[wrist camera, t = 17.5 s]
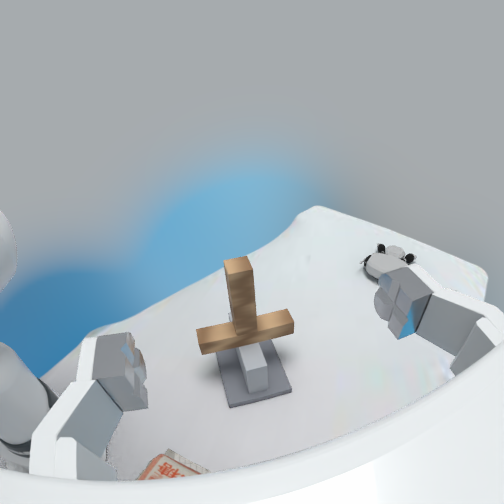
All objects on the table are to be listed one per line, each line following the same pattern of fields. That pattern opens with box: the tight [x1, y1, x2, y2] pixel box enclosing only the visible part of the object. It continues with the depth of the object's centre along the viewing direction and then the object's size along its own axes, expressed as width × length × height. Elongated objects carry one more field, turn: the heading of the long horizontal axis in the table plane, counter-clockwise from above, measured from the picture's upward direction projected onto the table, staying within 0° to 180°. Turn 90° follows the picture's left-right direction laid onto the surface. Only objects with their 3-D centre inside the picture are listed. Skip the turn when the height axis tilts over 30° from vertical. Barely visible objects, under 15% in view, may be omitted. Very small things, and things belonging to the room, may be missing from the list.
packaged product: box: [136, 449, 212, 480], centre depth 27 cm, size 18×5×10 cm
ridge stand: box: [216, 313, 292, 408], centre depth 46 cm, size 10×14×8 cm
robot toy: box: [360, 243, 417, 279], centre depth 66 cm, size 12×4×15 cm
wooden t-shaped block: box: [196, 256, 294, 355], centre depth 40 cm, size 14×3×14 cm, turn 105°
